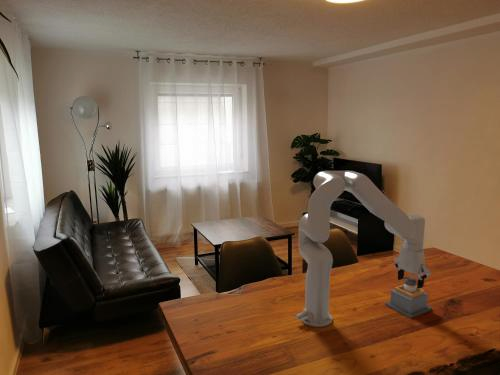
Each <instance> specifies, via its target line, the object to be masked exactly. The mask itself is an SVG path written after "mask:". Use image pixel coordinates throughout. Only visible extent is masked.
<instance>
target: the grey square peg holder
mask: <svg viewBox="0 0 500 375" xmlns="http://www.w3.org/2000/svg"><path fill="white" fill-rule="evenodd" d="M428 299H429V293H427V292H425V290H424V289H422V288H420V289H418V288H417V286H416V292H415V293H412V294H410V293H408V292H406V291H404V283H403V284H401V285H398V286H394V289H392V290H391V291H390V300H389V301H387V302H385V303H384V306H386V307H388V308H390V309H391V310H394V311H395V312H398V313H399V314H401V315H403V316H405V317H407V318H409V319H412V318H414V317H418V316H420V315H422V314H425V313H426V312H427V313H428V312H429V311H432V310H433V307H432V306H430V305H428Z"/></svg>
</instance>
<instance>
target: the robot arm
mask: <svg viewBox="0 0 500 375" xmlns="http://www.w3.org/2000/svg"><path fill="white" fill-rule="evenodd" d="M312 184H313V186H314V188H315V190H314V191H313V192H312V194H311V195H310V197H309V199H308V204H307V213H305V214H304V215H303V216H302V217H301V218H300V220H299V221H298V222H299V223H298V228H297V229H298V232H297V233H298V252H299V255H300V256H301V257H302V259H303V260H305V263H307V270H306V273H305V290H304V291H305V295H304V296H305V297H304V298H305V300H304V305H305V306H304V308H303V309H302V312H300V313H297V314H295V316H294V317H295V319H296V320H297V321H299V320H301V321H302V322H303V323H304V324H305V325H308V326H309V327H314V328H315V327H316V328H323V327H327V326H330V325H331V324H332V322H333V316H332V313H329V311H330V289H331V288H330V287H331V286H330V280H331V271H332V267H333V262H334V260H333V255H332V252H331V251H330V250H329V249H328V247H327V246H325V245H324V244H323V243H325V242H326V241H328V239H329V238H330V234H331V233H330V231H331V229H330V228H331V227H330V226H331V224H330V223H331V214H330V213H331V207H332V204H333V203H334V202H335V200H336V199H337V198H338V197H339V196H340V195H342V194H343V193H344V191H347V192H349V193H351V194H352V195H353V196H354V197H355V198H356V199H357V200H358V201H359V202H360V203H361V204H362V205H363V206H364V207H365V208H366V209H367V210H368V211H369V213H371V214H373V215H374V216H376V217H377V218H379V219H380V220H382V221H384V227H385V229H386V230H387V231H388V232H389V233H391V234H393V235H394V236H396V237H398V238H401V242H402V243H403V244H402V245H401V248H400V250H399V254H398V257H395V258H393V261H394V265H395V267H396V271H397V281H400V280H403V279H405V272H407V273H410V274H413V275H416V276H417V277H418V279H417V283H416V287H417V288H418V289H422V288H424V286H425V285H424V284H425V279H427V278H428V277H430V275H431V274H432V271H431V270H430V269H429V268H428V267H427V266H426V264H425V263H426V257H425V250H424V240H425V239H424V237H425V229H426V228H425V227H426V219H425V218H424V217H423V216H420V215H415V214H413V215H407V213H405V211H403V210H402V209H401V208H400V207H398V206H397V205H396V204H395V203H394V202H393V201H391V199H389V198H388V197H387V196H386V195H385V194H384V193H383V192H382V191H381V190H380V189H379V188H378V187H377V185H375V183H373V181H372V180H371V179H370V178H369V177H368V176H367V175H365V174H364V173H360V172H357V171H354V170H323V171H319V172H318V173H316V174H315V176H314V177H313V181H312Z"/></svg>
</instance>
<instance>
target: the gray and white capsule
mask: <svg viewBox="0 0 500 375" xmlns="http://www.w3.org/2000/svg"><path fill="white" fill-rule="evenodd" d="M403 281H404V282H403V284H404V291H406V292H408V293H410V294H412V293H415V292H416V287H417V282H418V279H417V278H415V277H413V276H404V280H403Z"/></svg>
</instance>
